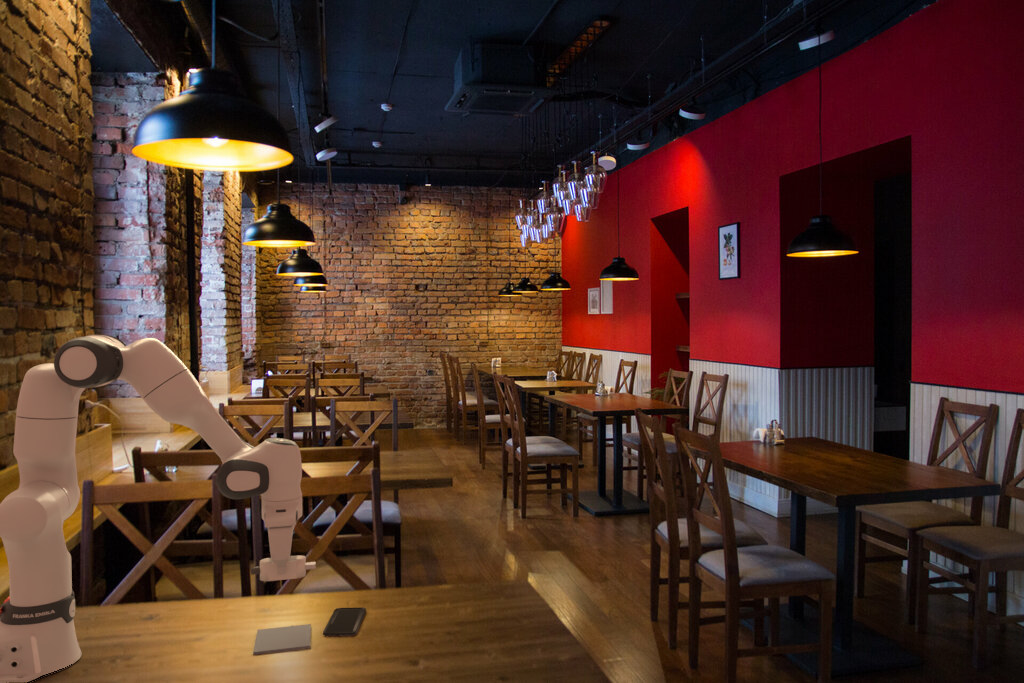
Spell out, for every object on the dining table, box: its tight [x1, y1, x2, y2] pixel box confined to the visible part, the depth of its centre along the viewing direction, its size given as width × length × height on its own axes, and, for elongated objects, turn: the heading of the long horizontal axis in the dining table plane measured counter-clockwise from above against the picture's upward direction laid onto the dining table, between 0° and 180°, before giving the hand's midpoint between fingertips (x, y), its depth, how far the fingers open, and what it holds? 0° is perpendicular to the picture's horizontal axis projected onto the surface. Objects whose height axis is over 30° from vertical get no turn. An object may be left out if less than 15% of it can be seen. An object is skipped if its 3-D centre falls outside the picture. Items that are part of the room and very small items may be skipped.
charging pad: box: [252, 623, 312, 656], centre depth 163 cm, size 12×12×1 cm
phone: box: [322, 607, 367, 637], centre depth 173 cm, size 8×1×15 cm
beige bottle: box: [250, 554, 317, 582], centre depth 163 cm, size 14×4×4 cm, turn 106°
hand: (282, 569), depth 163 cm, fingers closed on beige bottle, 4 cm apart
